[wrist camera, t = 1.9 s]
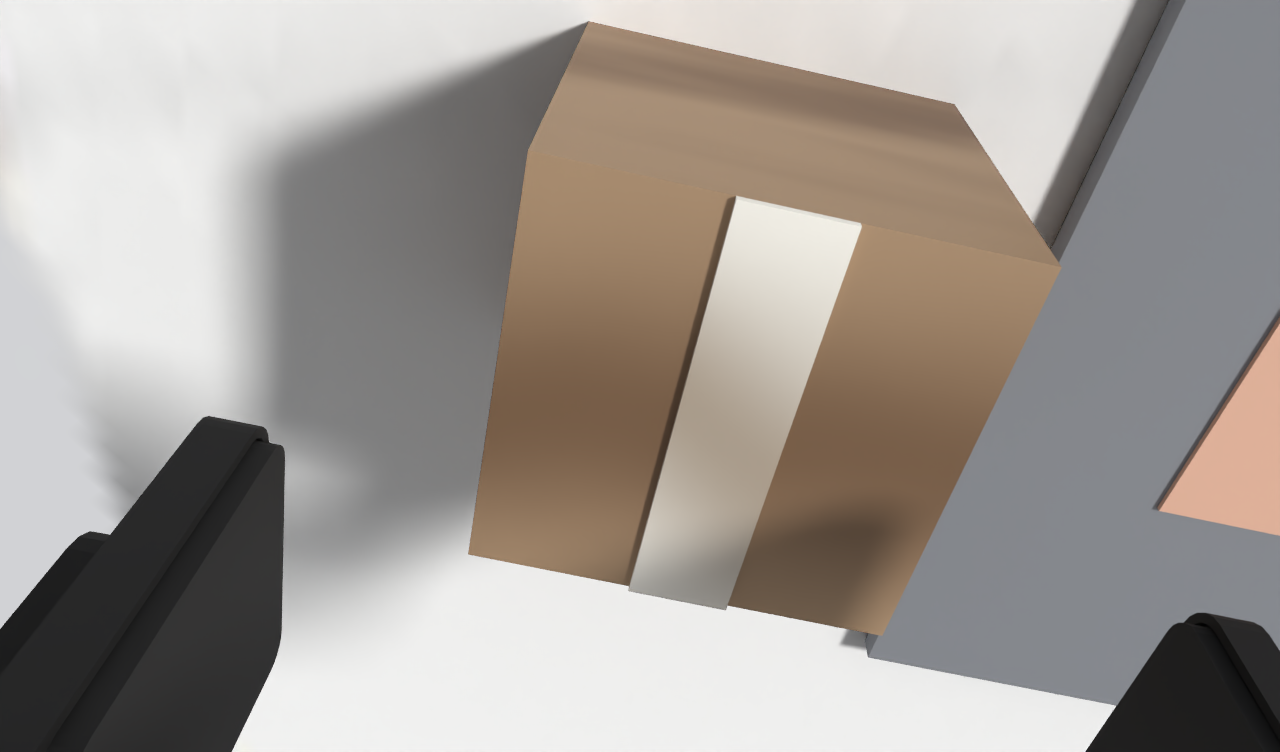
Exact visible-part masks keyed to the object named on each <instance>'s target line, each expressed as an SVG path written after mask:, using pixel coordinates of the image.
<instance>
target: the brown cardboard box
mask: <svg viewBox="0 0 1280 752" xmlns="http://www.w3.org/2000/svg"><path fill="white" fill-rule="evenodd" d="M1061 268H1062V267H1061V265H1060V264H1059V262H1058V261H1057V259H1056V258H1055V256H1054V255H1053V253H1052V252H1051V250H1050V249H1049V247H1048V246H1047V244H1046V243H1045V241H1044V240H1043V238H1042V237H1041V235H1040V233H1039V232H1038V230H1037V229H1036V227H1035V226H1034V224H1033V223H1032V221H1031V220H1030V218H1029V217H1028V215H1027V214H1026V212H1025V211H1024V209H1023V208H1022V206H1021V205H1020V203H1019V202H1018V200H1017V199H1016V197H1015V196H1014V194H1013V193H1012V191H1011V189H1010V188H1009V186H1008V185H1007V183H1006V182H1005V180H1004V179H1003V177H1002V176H1001V174H1000V173H999V171H998V170H997V168H996V167H995V165H994V164H993V162H992V161H991V159H990V158H989V156H988V155H987V153H986V152H985V150H984V149H983V147H982V146H981V144H980V142H979V141H978V139H977V138H976V136H975V135H974V133H973V132H972V130H971V129H970V127H969V126H968V124H967V123H966V121H965V120H964V118H963V117H962V115H961V114H960V112H959V111H958V109H957V108H956V106H955V105H954V104H951V103H946V102H942V101H937V100H933V99H929V98H924V97H920V96H915V95H911V94H907V93H902V92H898V91H893V90H889V89H885V88H880V87H876V86H871V85H867V84H863V83H858V82H854V81H849V80H845V79H840V78H836V77H832V76H827V75H823V74H818V73H814V72H810V71H805V70H801V69H796V68H792V67H788V66H783V65H779V64H774V63H770V62H765V61H761V60H757V59H752V58H748V57H743V56H739V55H735V54H730V53H726V52H721V51H717V50H713V49H708V48H704V47H699V46H695V45H691V44H686V43H682V42H677V41H673V40H668V39H664V38H660V37H655V36H651V35H646V34H642V33H638V32H633V31H629V30H624V29H620V28H616V27H611V26H607V25H602V24H598V23H594V22H588V24H587V26H586V28H585V30H584V32H583V34H582V36H581V39H580V41H579V43H578V45H577V47H576V49H575V51H574V53H573V56H572V58H571V60H570V62H569V64H568V66H567V68H566V70H565V73H564V75H563V77H562V79H561V81H560V83H559V85H558V87H557V90H556V92H555V94H554V96H553V98H552V100H551V102H550V104H549V107H548V109H547V111H546V113H545V115H544V117H543V119H542V121H541V123H540V126H539V128H538V130H537V132H536V134H535V136H534V138H533V140H532V143H531V145H530V147H529V149H528V153H527V160H526V167H525V174H524V180H523V187H522V194H521V201H520V207H519V214H518V221H517V228H516V235H515V241H514V248H513V255H512V262H511V268H510V275H509V282H508V289H507V295H506V302H505V309H504V316H503V322H502V329H501V336H500V343H499V350H498V356H497V363H496V370H495V377H494V383H493V390H492V397H491V404H490V410H489V417H488V424H487V431H486V437H485V444H484V451H483V458H482V465H481V471H480V478H479V485H478V492H477V498H476V505H475V512H474V519H473V525H472V532H471V539H470V546H469V553H468V554H469V555H474V556H479V557H485V558H490V559H495V560H500V561H505V562H510V563H515V564H520V565H525V566H530V567H535V568H540V569H545V570H550V571H556V572H561V573H566V574H571V575H576V576H581V577H586V578H591V579H596V580H601V581H606V582H611V583H616V584H621V585H626V586H629V591H631V592H636V593H641V594H646V595H651V596H656V597H661V598H666V599H671V600H676V601H681V602H686V603H692V604H697V605H702V606H707V607H712V608H717V609H722V610H726V608H727V605H728V606H733V607H738V608H743V609H748V610H753V611H758V612H763V613H768V614H774V615H779V616H784V617H789V618H794V619H799V620H804V621H809V622H814V623H819V624H824V625H829V626H834V627H839V628H845V629H850V630H855V631H860V632H865V633H870V634H875V635H880V636H882V635H883V633H884V631H885V629H886V627H887V625H888V623H889V621H890V619H891V617H892V615H893V613H894V611H895V609H896V607H897V604H898V602H899V600H900V598H901V596H902V594H903V592H904V590H905V588H906V586H907V584H908V582H909V580H910V578H911V576H912V574H913V572H914V570H915V568H916V565H917V563H918V561H919V559H920V557H921V555H922V553H923V551H924V549H925V547H926V545H927V543H928V541H929V539H930V537H931V535H932V533H933V531H934V529H935V526H936V524H937V522H938V520H939V518H940V516H941V514H942V512H943V510H944V508H945V506H946V504H947V502H948V500H949V498H950V496H951V494H952V492H953V490H954V487H955V485H956V483H957V481H958V479H959V477H960V475H961V473H962V471H963V469H964V467H965V465H966V463H967V461H968V459H969V457H970V455H971V453H972V450H973V448H974V446H975V444H976V442H977V440H978V438H979V436H980V434H981V432H982V430H983V428H984V426H985V424H986V422H987V420H988V418H989V416H990V414H991V411H992V409H993V407H994V405H995V403H996V401H997V399H998V397H999V395H1000V393H1001V391H1002V389H1003V387H1004V385H1005V383H1006V381H1007V379H1008V377H1009V375H1010V372H1011V370H1012V368H1013V366H1014V364H1015V362H1016V360H1017V358H1018V356H1019V354H1020V352H1021V350H1022V348H1023V346H1024V344H1025V342H1026V340H1027V338H1028V336H1029V333H1030V331H1031V329H1032V327H1033V325H1034V323H1035V321H1036V319H1037V317H1038V315H1039V313H1040V311H1041V309H1042V307H1043V305H1044V303H1045V301H1046V299H1047V297H1048V294H1049V292H1050V290H1051V288H1052V286H1053V284H1054V282H1055V280H1056V278H1057V276H1058V274H1059V272H1060V270H1061Z"/></svg>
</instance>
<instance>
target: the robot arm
mask: <svg viewBox="0 0 1280 752" xmlns="http://www.w3.org/2000/svg"><path fill="white" fill-rule="evenodd" d="M284 476H285V452H284V448H283V446H281V445H277V444H272V443H269V440H268V433H267V430H266V429H265V428H264V427H261V426H256V425H251V424H246V423H241V422H236V421H231V420H226V419H221V418H216V417H211V416H207V417H204V418H203V419H202V420H200V421H199V422H198V423H197V425H196V426H195V427H194V428H193V430H192V431H191V432H190V434H189V435H188V436H187V437H186V439H185V440H184V441H183V443H182V444H181V445H180V446H179V448H178V449H177V450H176V451H175V453H174V454H173V455H172V457H171V458H170V459H169V460H168V462H167V463H166V464H165V466H164V467H163V468H162V469H161V471H160V472H159V473H158V474H157V476H156V477H155V478H154V480H153V481H152V482H151V483H150V485H149V486H148V487H147V489H146V490H145V491H144V492H143V494H142V495H141V496H140V497H139V499H138V500H137V501H136V503H135V504H134V505H133V506H132V508H131V509H130V510H129V512H128V513H127V514H126V515H125V517H124V518H123V519H122V520H121V522H120V523H119V524H118V526H117V527H116V528H115V529H114V531H113V532H112V533H111V535H108V534H103V533H97V532H88V533H85V534H83V535H81V536H79V537H78V538H77V539H76V540H75V541H74V542H73V543H72V544H71V545H70V546H69V547H68V548H67V549H66V550H65V551H64V552H63V554H62V555H61V556H60V557H59V559H58V560H57V561H56V562H55V563H54V565H53V566H52V567H51V568H50V569H49V571H48V572H47V573H46V574H45V575H44V577H43V578H42V579H41V580H40V582H39V583H38V584H37V585H36V587H35V588H34V589H33V590H32V591H31V592H30V594H29V595H28V596H27V597H26V599H25V600H24V601H23V602H22V603H21V604H20V606H19V607H18V608H17V610H16V611H15V612H14V613H13V614H12V616H11V617H10V618H9V619H8V620H7V621H6V623H5V624H4V625H3V627H2V628H1V629H0V752H232V750H233V748H234V746H235V744H236V742H237V739H238V737H239V735H240V733H241V731H242V729H243V727H244V725H245V723H246V721H247V719H248V717H249V715H250V713H251V711H252V708H253V706H254V704H255V702H256V700H257V698H258V696H259V694H260V692H261V690H262V688H263V686H264V684H265V682H266V680H267V678H268V675H269V673H270V671H271V669H272V667H273V664H274V662H275V659H276V656H277V653H278V649H279V645H280V639H281V630H282V579H283V528H284ZM1086 752H1280V650H1279V649H1278V647H1277V646H1276V644H1275V643H1274V641H1273V640H1272V638H1271V637H1270V635H1269V634H1268V633H1267V632H1266V631H1265V629H1264V628H1263V627H1262V626H1260V625H1258V624H1256V623H1254V622H1250V621H1245V620H1240V619H1235V618H1230V617H1225V616H1220V615H1215V614H1210V613H1195V614H1193V615H1191V616H1189V617H1188V618H1187V620H1186V621H1185V622H1184V623H1177V624H1174V625H1173V626H1172V627H1171V628H1170V629H1169V630H1168V631H1167V633H1166V634H1165V636H1164V637H1163V638H1162V640H1161V641H1160V643H1159V644H1158V646H1157V647H1156V649H1155V650H1154V652H1153V653H1152V655H1151V656H1150V658H1149V659H1148V661H1147V662H1146V663H1145V665H1144V666H1143V668H1142V669H1141V671H1140V672H1139V674H1138V675H1137V677H1136V678H1135V680H1134V681H1133V683H1132V684H1131V686H1130V687H1129V688H1128V690H1127V691H1126V693H1125V694H1124V696H1123V697H1122V699H1121V700H1120V702H1119V703H1118V705H1117V706H1116V708H1115V709H1114V711H1113V712H1112V713H1111V715H1110V716H1109V718H1108V719H1107V721H1106V722H1105V724H1104V725H1103V727H1102V728H1101V730H1100V731H1099V733H1098V734H1097V735H1096V737H1095V738H1094V740H1093V741H1092V743H1091V744H1090V746H1089V747H1088V749H1087V750H1086Z"/></svg>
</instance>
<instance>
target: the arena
mask: <svg viewBox="0 0 1280 752" xmlns="http://www.w3.org/2000/svg"><path fill="white" fill-rule="evenodd" d="M1051 252H1052V253H1053V255H1054V256H1055V258H1056V259H1057V261H1058V262H1059V264H1060V265H1061V267H1062V268H1061V270H1060V272H1059V274H1058V276H1057V278H1056V280H1055V282H1054V284H1053V286H1052V288H1051V290H1050V292H1049V294H1048V297H1047V299H1046V301H1045V303H1044V305H1043V307H1042V309H1041V311H1040V313H1039V315H1038V317H1037V319H1036V321H1035V323H1034V325H1033V327H1032V329H1031V331H1030V333H1029V336H1028V338H1027V340H1026V342H1025V344H1024V346H1023V348H1022V350H1021V352H1020V354H1019V356H1018V358H1017V360H1016V362H1015V364H1014V366H1013V368H1012V370H1011V372H1010V375H1009V377H1008V379H1007V381H1006V383H1005V385H1004V387H1003V389H1002V391H1001V393H1000V395H999V397H998V399H997V401H996V403H995V405H994V407H993V409H992V411H991V414H990V416H989V418H988V420H987V422H986V424H985V426H984V428H983V430H982V432H981V434H980V436H979V438H978V440H977V442H976V444H975V446H974V448H973V450H972V453H971V455H970V457H969V459H968V461H967V463H966V465H965V467H964V469H963V471H962V473H961V475H960V477H959V479H958V481H957V483H956V485H955V487H954V490H953V492H952V494H951V496H950V498H949V500H948V502H947V504H946V506H945V508H944V510H943V512H942V514H941V516H940V518H939V520H938V522H937V524H936V526H935V529H934V531H933V533H932V535H931V537H930V539H929V541H928V543H927V545H926V547H925V549H924V551H923V553H922V555H921V557H920V559H919V561H918V563H917V565H916V568H915V570H914V572H913V574H912V576H911V578H910V580H909V582H908V584H907V586H906V588H905V590H904V592H903V594H902V596H901V598H900V600H899V602H898V604H897V607H896V609H895V611H894V613H893V615H892V617H891V619H890V621H889V623H888V625H887V627H886V629H885V631H884V633H883V635H882V636H880V635H875V634H870V633H868V635H867V637H866V639H865V642H866V648H867V654H868V657H869V658H874V659H879V660H885V661H890V662H895V663H900V664H905V665H910V666H916V667H921V668H926V669H931V670H936V671H941V672H946V673H952V674H957V675H962V676H967V677H972V678H977V679H982V680H988V681H993V682H998V683H1003V684H1008V685H1013V686H1019V687H1024V688H1029V689H1034V690H1039V691H1044V692H1049V693H1055V694H1060V695H1065V696H1070V697H1075V698H1080V699H1086V700H1091V701H1096V702H1101V703H1106V704H1111V705H1116V706H1117V705H1118V703H1119V702H1120V700H1121V699H1122V697H1123V696H1124V694H1125V693H1126V691H1127V690H1128V688H1129V687H1130V686H1131V684H1132V683H1133V681H1134V680H1135V678H1136V677H1137V675H1138V674H1139V672H1140V671H1141V669H1142V668H1143V666H1144V665H1145V663H1146V662H1147V661H1148V659H1149V658H1150V656H1151V655H1152V653H1153V652H1154V650H1155V649H1156V647H1157V646H1158V644H1159V643H1160V641H1161V640H1162V638H1163V637H1164V636H1165V634H1166V633H1167V631H1168V630H1169V629H1170V628H1171V627H1172V626H1173V625H1174V624H1177V623H1184V622H1185V621H1186V620H1187V618H1188V617H1189V616H1191V615H1193V614H1195V613H1210V614H1215V615H1220V616H1225V617H1230V618H1235V619H1240V620H1245V621H1250V622H1254V623H1256V624H1258V625H1260V626H1262V627H1263V628H1264V629H1265V631H1266V632H1267V633H1268V634H1269V635H1270V637H1271V638H1272V640H1273V641H1274V643H1275V644H1276V646H1277V647H1278V649H1279V650H1280V0H1169V2H1168V4H1167V6H1166V8H1165V10H1164V12H1163V14H1162V16H1161V19H1160V21H1159V23H1158V25H1157V27H1156V29H1155V31H1154V33H1153V35H1152V38H1151V40H1150V42H1149V44H1148V46H1147V48H1146V50H1145V52H1144V54H1143V56H1142V59H1141V61H1140V63H1139V65H1138V67H1137V69H1136V71H1135V73H1134V75H1133V78H1132V80H1131V82H1130V84H1129V86H1128V88H1127V90H1126V92H1125V94H1124V96H1123V99H1122V101H1121V103H1120V105H1119V107H1118V109H1117V111H1116V113H1115V115H1114V117H1113V120H1112V122H1111V124H1110V126H1109V128H1108V130H1107V132H1106V134H1105V136H1104V139H1103V141H1102V143H1101V145H1100V147H1099V149H1098V151H1097V153H1096V155H1095V157H1094V160H1093V162H1092V164H1091V166H1090V168H1089V170H1088V172H1087V174H1086V176H1085V179H1084V181H1083V183H1082V185H1081V187H1080V189H1079V191H1078V193H1077V195H1076V197H1075V200H1074V202H1073V204H1072V206H1071V208H1070V210H1069V212H1068V214H1067V216H1066V219H1065V221H1064V223H1063V225H1062V227H1061V229H1060V231H1059V233H1058V235H1057V237H1056V240H1055V242H1054V244H1053V246H1052V248H1051Z"/></svg>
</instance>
